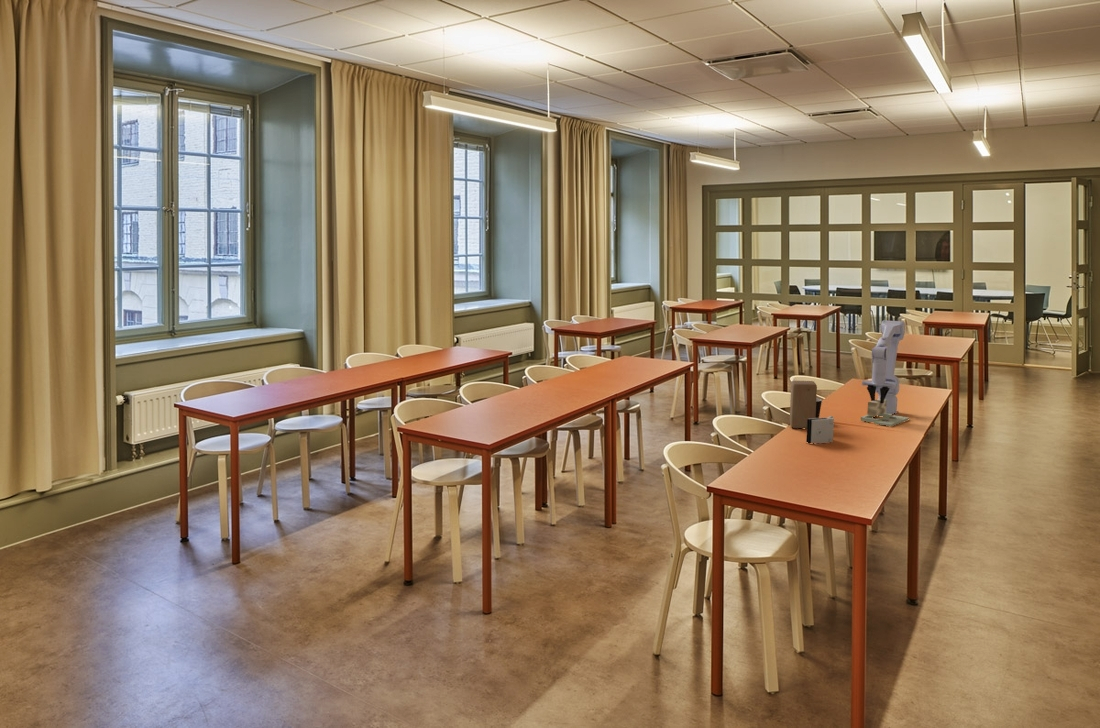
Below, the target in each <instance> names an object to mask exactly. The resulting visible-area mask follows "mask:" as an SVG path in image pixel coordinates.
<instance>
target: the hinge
mask: <svg viewBox="0 0 1100 728" xmlns="http://www.w3.org/2000/svg"><path fill="white" fill-rule="evenodd" d="M834 421H835V418H834V416H833V415H829V416H828V417H819V418H811V419H807V429H806V438H805V439H806V442H808V443H828V442H834V441H833V440H834V427H835V426H834V424H835V422H834ZM828 444H829V443H828Z"/></svg>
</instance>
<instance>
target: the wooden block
mask: <svg viewBox="0 0 1100 728" xmlns="http://www.w3.org/2000/svg"><path fill="white" fill-rule="evenodd" d="M817 393H818V387H817V384H816V382H815V381H813V380H792V381H791V383H790V401H789V402H790V404H789V405H790V406H789V407H790V408H789V425H790V427H791V428H792V427H793V428H805V429H804V430H807V419H811V418H816V398H817ZM793 428H792V429H793Z"/></svg>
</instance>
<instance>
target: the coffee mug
mask: <svg viewBox="0 0 1100 728" xmlns="http://www.w3.org/2000/svg"><path fill="white" fill-rule="evenodd" d="M822 403H823V400H822V399H821V398H817V397H816V418H820V414H821V407H822Z"/></svg>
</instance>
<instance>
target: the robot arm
mask: <svg viewBox="0 0 1100 728" xmlns="http://www.w3.org/2000/svg"><path fill="white" fill-rule="evenodd" d="M880 331H881V337H879V338H878V341H877V343H876V345H875V346H874V347H872V348H871V363H872V370H871V371H872V372H871V373H872V374H871V380H862V381H861V386H867V387H866V390H867V391H868V394H869V398H870V401H873V400H876V394H877V395H878V396H877V397H878V398H877V399H880V403H884V400H887V404H886V413H888V414H893V415H895V414H898V413H899V411H898V397H897V395H898V394H899V393H900V379H899V378H898V377H897V375H895V370H896V363H897V362H896V361H897V355H898V347H899V344H900V341H902V340H904V337H905V332H906V322H905V321H904V320H886V319H884V320H882V321H881V324H880ZM897 412H898V413H897ZM894 413H895V414H894Z"/></svg>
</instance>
